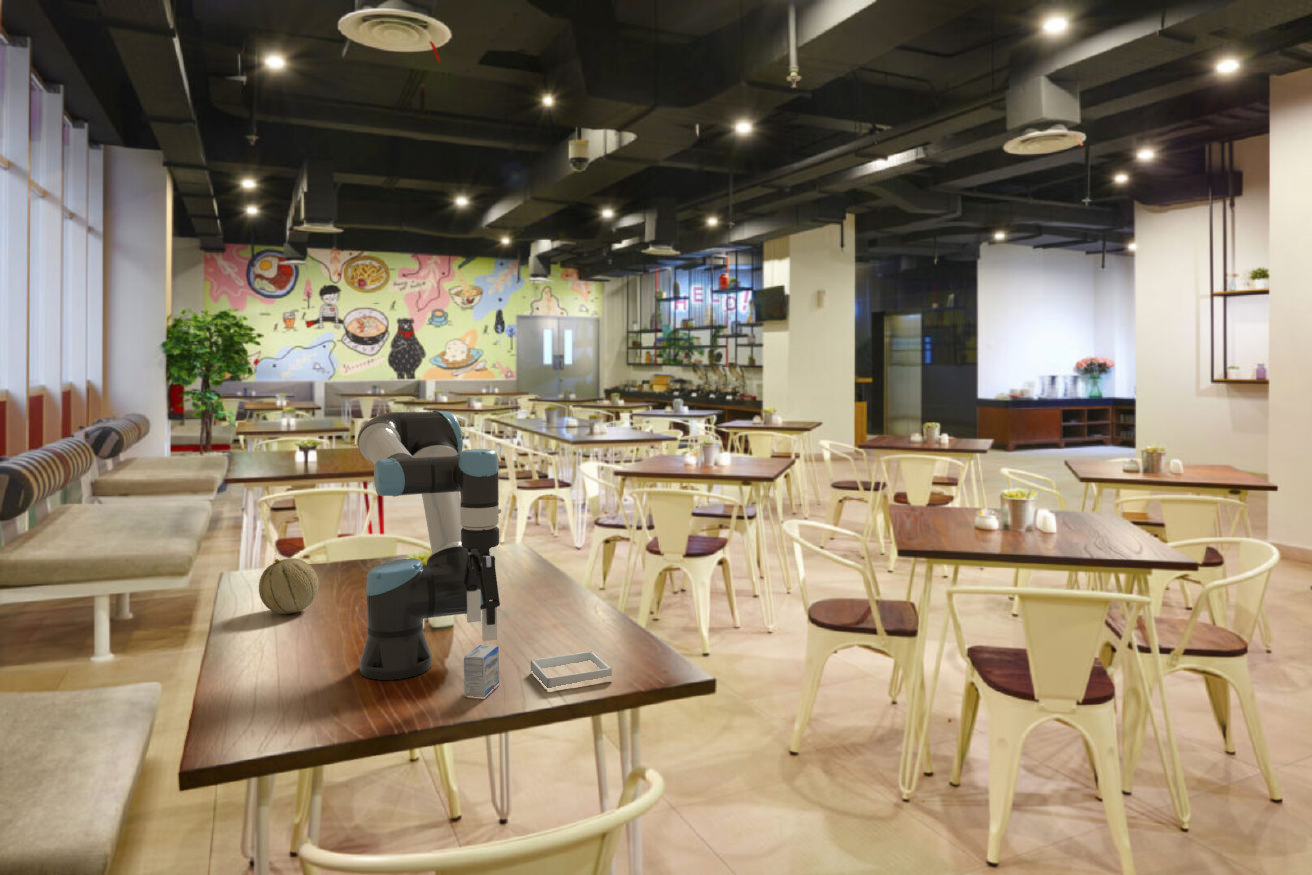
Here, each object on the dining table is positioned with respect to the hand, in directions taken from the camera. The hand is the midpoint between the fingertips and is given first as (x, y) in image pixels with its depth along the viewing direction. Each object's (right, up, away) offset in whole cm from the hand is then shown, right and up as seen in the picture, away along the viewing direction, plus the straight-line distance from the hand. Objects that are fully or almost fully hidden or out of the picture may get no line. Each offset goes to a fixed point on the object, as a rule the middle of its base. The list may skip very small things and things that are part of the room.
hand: (481, 630), depth 173 cm
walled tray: (+17, -12, +9) cm, 23 cm away
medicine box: (0, -13, +1) cm, 13 cm away
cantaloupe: (-63, -8, +56) cm, 85 cm away
